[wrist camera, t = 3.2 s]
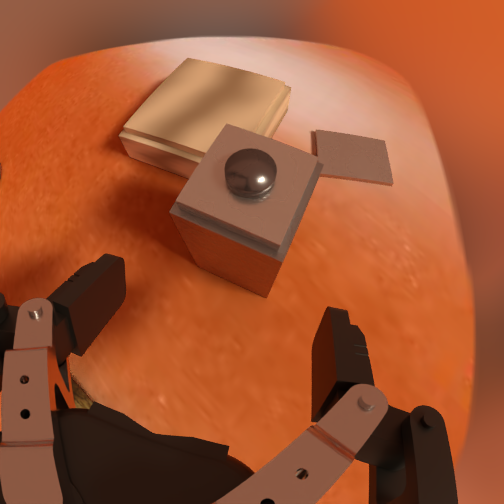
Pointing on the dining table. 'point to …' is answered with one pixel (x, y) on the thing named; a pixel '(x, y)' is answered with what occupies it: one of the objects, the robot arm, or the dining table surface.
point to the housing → (245, 206)
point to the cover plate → (353, 158)
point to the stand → (201, 113)
